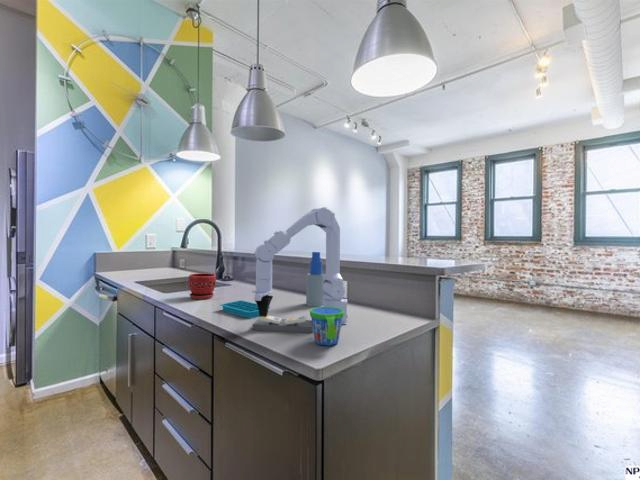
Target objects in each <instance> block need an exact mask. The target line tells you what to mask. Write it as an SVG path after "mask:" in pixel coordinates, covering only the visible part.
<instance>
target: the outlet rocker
mask: <svg viewBox="0 0 640 480" xmlns="http://www.w3.org/2000/svg"><path fill="white" fill-rule="evenodd" d="M259 318H260V320H263V321H268V322H272V323H276V324H279V323H280V322H281V320H282V319H283V318H282V317H276V316H273V315H268V314H267V316H266V317H264V316H261V317H260V316H259Z"/></svg>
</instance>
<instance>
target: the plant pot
mask: <svg viewBox="0 0 640 480" xmlns="http://www.w3.org/2000/svg"><path fill="white" fill-rule="evenodd" d="M216 283H217V274H215V273H205V272H204V273H203V272H202V273H190V274H189V275H188V286H189V290H190V292H191V293H189V297H190V298H191V299H193V300H206V299H211V298H212V297H213V296H214V295H215V293H213V292H214V291H215V288H216V285H217V284H216Z"/></svg>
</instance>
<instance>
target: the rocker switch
mask: <svg viewBox="0 0 640 480" xmlns="http://www.w3.org/2000/svg"><path fill="white" fill-rule="evenodd" d="M286 319H287V320H286V321H285V325H286V324H292V323H299V322H305V321H306V320H308V319H307V315H304V316H298V317H291V318H286Z"/></svg>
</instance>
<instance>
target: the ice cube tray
mask: <svg viewBox="0 0 640 480" xmlns="http://www.w3.org/2000/svg"><path fill="white" fill-rule="evenodd" d="M220 307H222V311H223V312H225V313H227V314H233V315H236V316H240V317H243V318H246V319H253V318H256V317H260V314H259V310H258V306H257V303H256V302H252V301H251V302H250V301H247V300H246V301H245V300H235V301H230V302H226V303H220ZM270 308H271V307H270V306H269V309H270Z"/></svg>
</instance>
